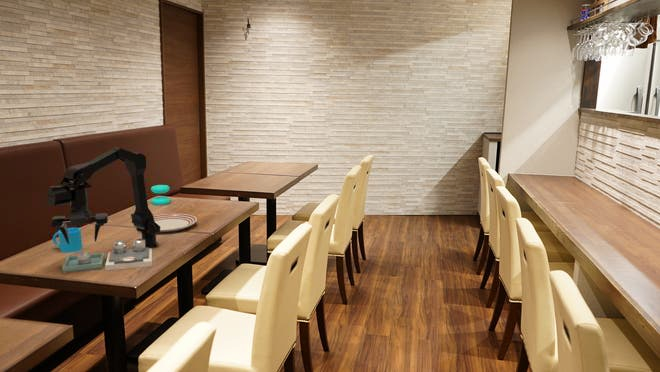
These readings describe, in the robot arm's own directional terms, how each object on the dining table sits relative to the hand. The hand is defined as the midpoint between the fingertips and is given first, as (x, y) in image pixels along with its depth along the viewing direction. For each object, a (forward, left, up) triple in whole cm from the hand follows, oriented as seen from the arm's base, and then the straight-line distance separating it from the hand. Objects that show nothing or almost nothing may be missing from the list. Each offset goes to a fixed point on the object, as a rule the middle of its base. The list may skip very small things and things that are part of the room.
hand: (82, 242), depth 198 cm
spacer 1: (0, 0, -8) cm, 8 cm away
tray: (0, 0, -9) cm, 9 cm away
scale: (+1, +16, -9) cm, 18 cm away
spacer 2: (-4, +13, -6) cm, 15 cm away
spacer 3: (-4, +20, -6) cm, 21 cm away
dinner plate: (-47, +31, -9) cm, 57 cm away
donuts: (-100, +29, -9) cm, 105 cm away
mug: (-23, -9, -9) cm, 26 cm away
